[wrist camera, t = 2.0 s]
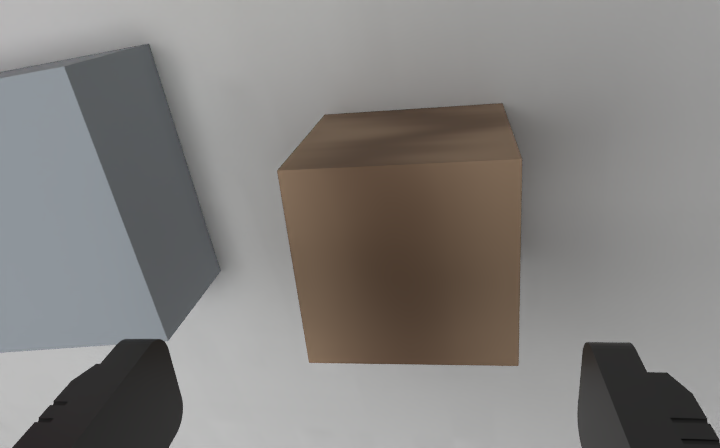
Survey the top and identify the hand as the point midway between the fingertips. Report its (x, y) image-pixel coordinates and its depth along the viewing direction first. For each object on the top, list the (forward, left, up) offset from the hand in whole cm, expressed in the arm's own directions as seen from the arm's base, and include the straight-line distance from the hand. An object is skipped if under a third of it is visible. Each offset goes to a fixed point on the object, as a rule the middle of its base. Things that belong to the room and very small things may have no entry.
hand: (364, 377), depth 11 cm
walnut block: (0, 0, -11) cm, 11 cm away
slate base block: (+13, -1, -11) cm, 17 cm away
